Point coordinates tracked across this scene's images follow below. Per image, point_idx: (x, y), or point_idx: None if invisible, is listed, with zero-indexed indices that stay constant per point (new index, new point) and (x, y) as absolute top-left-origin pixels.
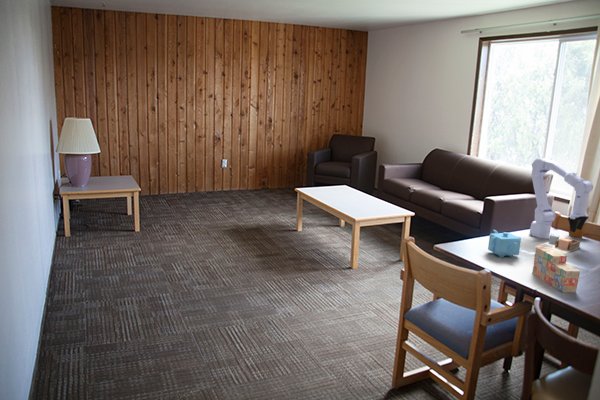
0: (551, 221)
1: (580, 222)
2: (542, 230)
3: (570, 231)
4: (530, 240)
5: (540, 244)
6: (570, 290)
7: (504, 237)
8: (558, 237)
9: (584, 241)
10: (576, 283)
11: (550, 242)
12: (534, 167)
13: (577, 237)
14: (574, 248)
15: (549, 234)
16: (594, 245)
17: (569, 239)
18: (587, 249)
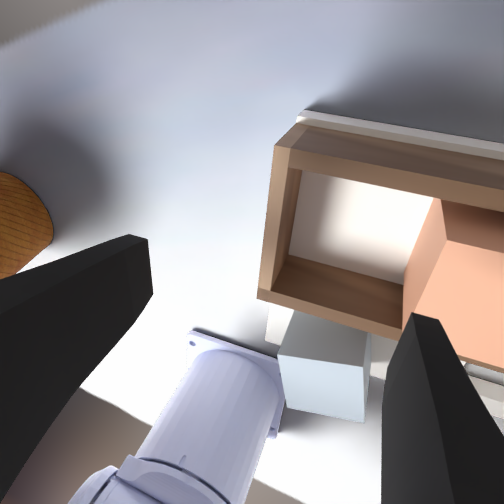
0: (133, 481)
1: (44, 357)
2: (255, 452)
3: (14, 270)
4: (344, 431)
5: (491, 414)
6: None
7: None
8: (337, 355)
9: (20, 139)
10: None
11: (370, 356)
12: None
13: (22, 201)
14: (444, 152)
15: (212, 379)
16: (32, 33)
17: (437, 275)
18: (223, 42)
